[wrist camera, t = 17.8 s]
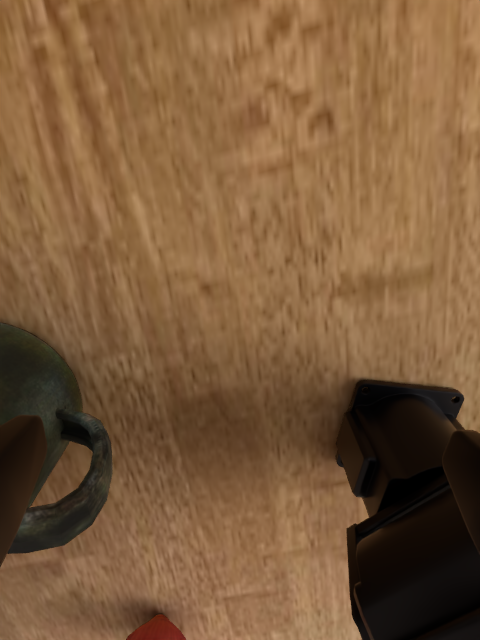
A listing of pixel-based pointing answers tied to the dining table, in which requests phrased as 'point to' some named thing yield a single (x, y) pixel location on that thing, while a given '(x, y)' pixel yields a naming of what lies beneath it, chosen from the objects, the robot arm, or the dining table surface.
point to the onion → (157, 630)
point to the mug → (52, 437)
